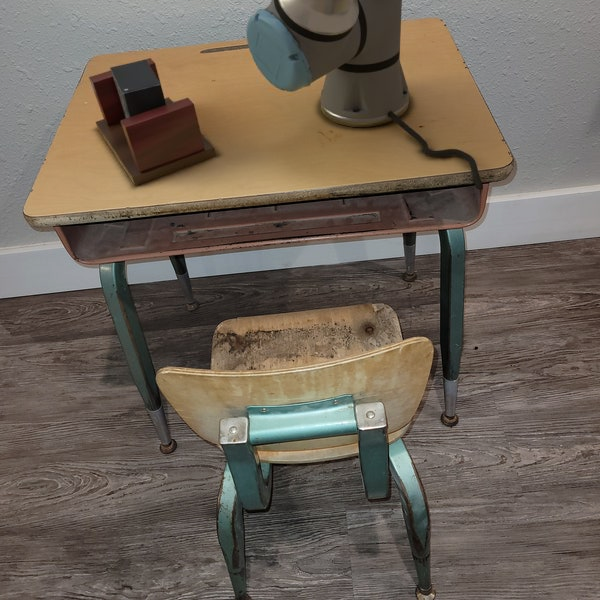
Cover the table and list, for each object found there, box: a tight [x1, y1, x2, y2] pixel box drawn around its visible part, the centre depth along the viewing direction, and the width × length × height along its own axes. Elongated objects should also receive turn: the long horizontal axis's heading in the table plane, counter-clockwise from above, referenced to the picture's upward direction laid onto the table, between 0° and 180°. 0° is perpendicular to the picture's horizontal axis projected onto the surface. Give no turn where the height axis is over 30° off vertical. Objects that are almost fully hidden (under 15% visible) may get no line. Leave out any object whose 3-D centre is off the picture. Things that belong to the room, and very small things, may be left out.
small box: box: [109, 58, 166, 118], centre depth 97 cm, size 11×6×10 cm, turn 23°
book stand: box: [88, 58, 217, 187], centre depth 98 cm, size 21×14×10 cm, turn 29°
